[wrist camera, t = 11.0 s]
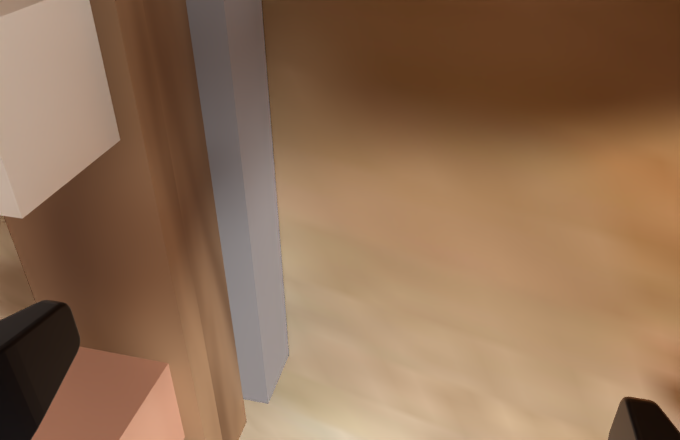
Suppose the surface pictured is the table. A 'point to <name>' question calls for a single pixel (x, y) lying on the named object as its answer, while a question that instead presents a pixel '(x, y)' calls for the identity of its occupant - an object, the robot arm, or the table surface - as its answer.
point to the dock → (243, 181)
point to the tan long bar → (145, 224)
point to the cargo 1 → (49, 100)
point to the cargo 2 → (113, 400)
